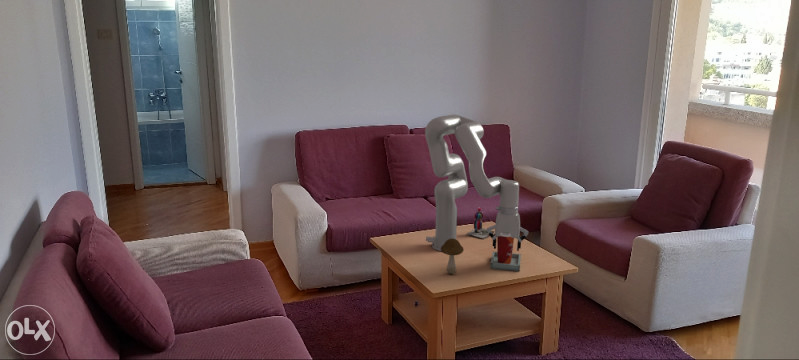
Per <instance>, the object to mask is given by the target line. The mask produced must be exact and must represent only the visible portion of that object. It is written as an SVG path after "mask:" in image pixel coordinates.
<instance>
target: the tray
mask: <svg viewBox="0 0 799 360" xmlns="http://www.w3.org/2000/svg"><path fill="white" fill-rule="evenodd" d="M521 259H522V254H521V253H516V252H515V253H513V252H512V258H511V263H510V264H503V263H498V255H497V251H492V255H491V258H490V262H489V263H490V266H489V269H490V270H500V271H511V272H513V271H514V272H520V271H521V270H520V269H521V261H522V260H521Z"/></svg>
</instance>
